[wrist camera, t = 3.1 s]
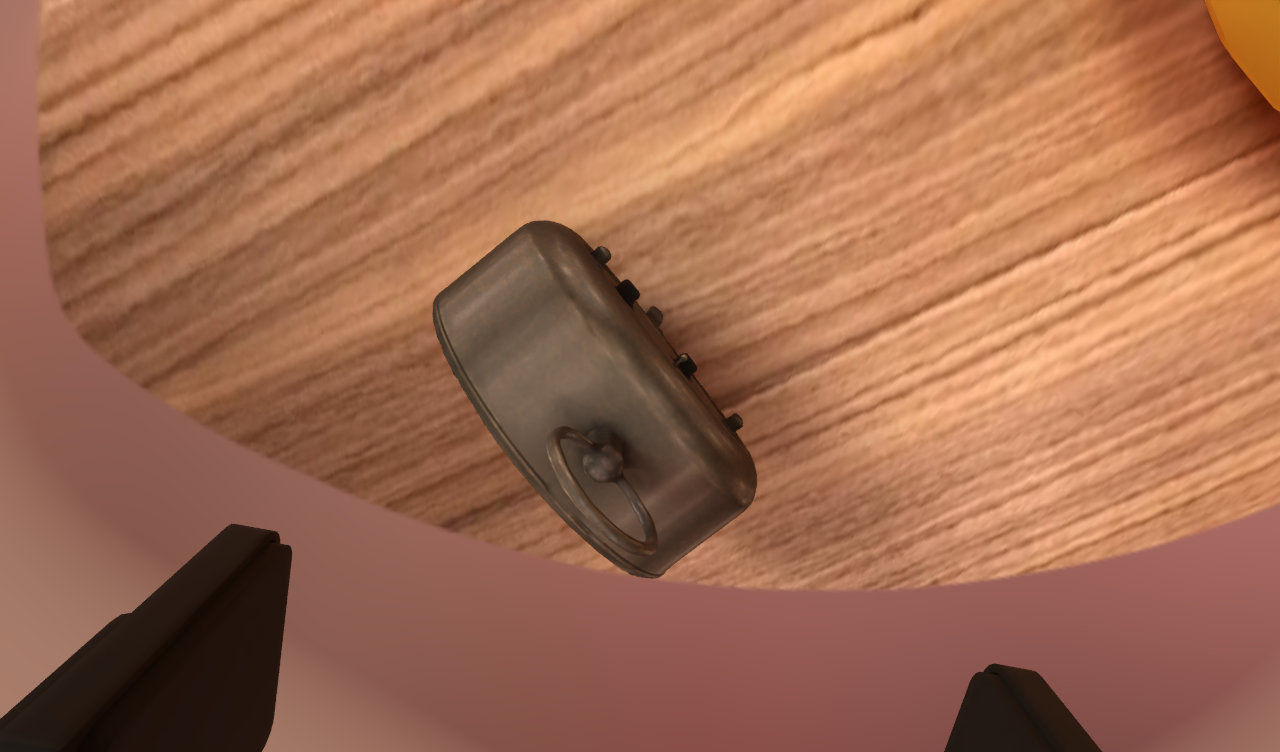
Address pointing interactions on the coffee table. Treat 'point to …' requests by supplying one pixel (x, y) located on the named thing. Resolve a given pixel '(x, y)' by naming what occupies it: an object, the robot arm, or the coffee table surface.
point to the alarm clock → (593, 399)
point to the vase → (1252, 40)
